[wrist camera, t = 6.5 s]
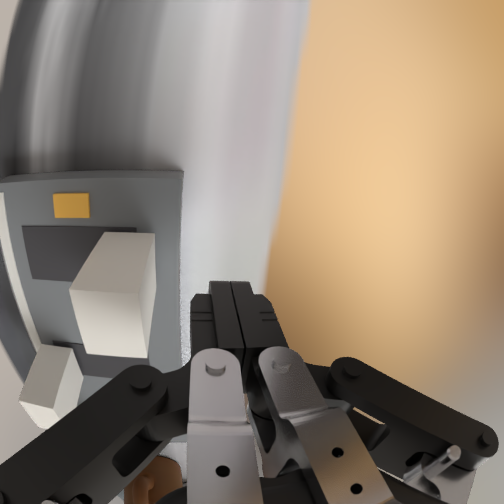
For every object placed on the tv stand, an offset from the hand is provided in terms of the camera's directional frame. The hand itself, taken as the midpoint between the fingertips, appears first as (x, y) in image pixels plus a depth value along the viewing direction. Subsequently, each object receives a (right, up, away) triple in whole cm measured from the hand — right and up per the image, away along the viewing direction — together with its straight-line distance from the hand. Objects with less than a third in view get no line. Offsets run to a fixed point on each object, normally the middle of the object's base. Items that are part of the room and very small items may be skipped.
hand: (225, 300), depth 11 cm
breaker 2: (-5, +1, +2) cm, 5 cm away
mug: (-12, -24, +16) cm, 31 cm away
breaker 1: (-12, -6, +4) cm, 14 cm away
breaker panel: (-9, -5, +7) cm, 12 cm away
